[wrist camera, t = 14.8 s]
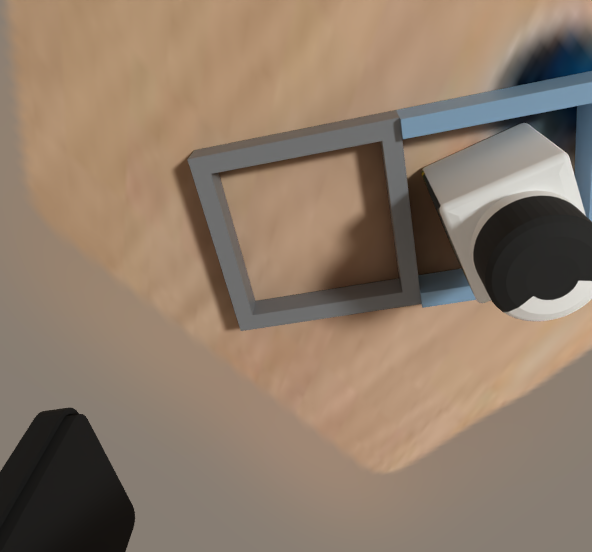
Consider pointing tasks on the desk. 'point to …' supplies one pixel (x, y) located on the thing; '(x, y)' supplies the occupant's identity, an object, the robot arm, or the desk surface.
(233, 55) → the desk surface
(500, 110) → the frame
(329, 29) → the desk surface
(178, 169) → the desk surface
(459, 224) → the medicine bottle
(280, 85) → the desk surface
